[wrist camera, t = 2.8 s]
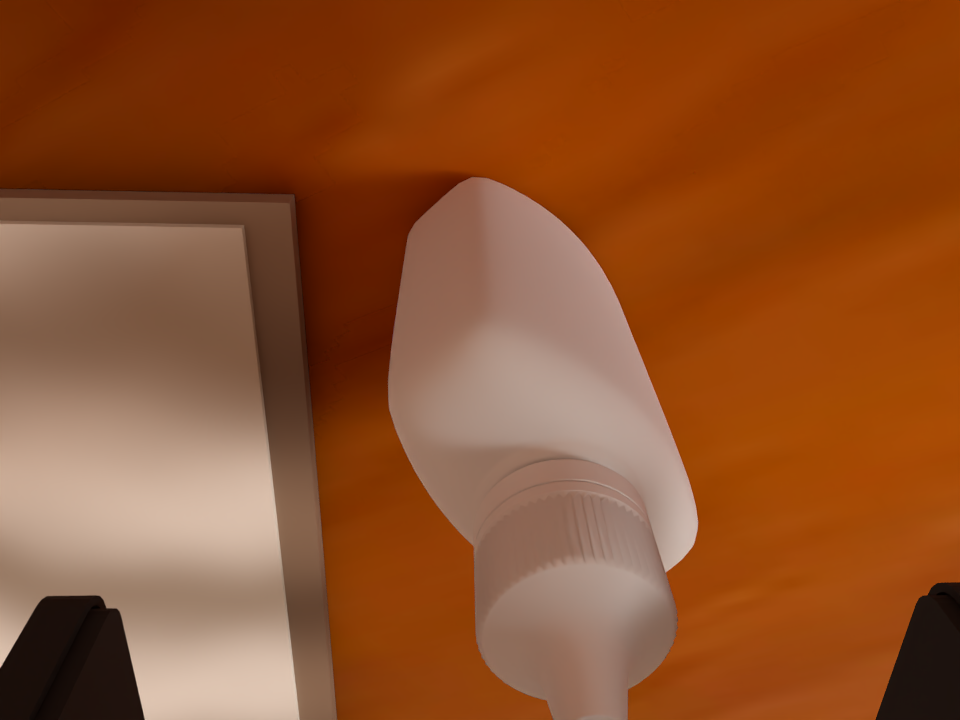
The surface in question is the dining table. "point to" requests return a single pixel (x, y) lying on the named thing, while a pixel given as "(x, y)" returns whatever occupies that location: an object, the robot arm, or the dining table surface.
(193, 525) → the clipboard
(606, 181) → the dining table surface
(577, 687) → the eye dropper bottle
